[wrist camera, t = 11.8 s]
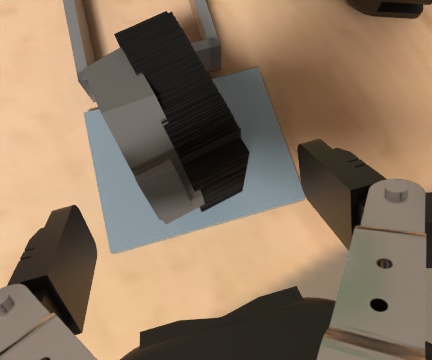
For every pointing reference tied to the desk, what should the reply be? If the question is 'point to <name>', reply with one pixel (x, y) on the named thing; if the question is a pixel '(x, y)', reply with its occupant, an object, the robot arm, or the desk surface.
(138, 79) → the cpu cooler
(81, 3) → the open rectangular frame
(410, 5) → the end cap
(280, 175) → the rubber mat
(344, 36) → the desk surface
